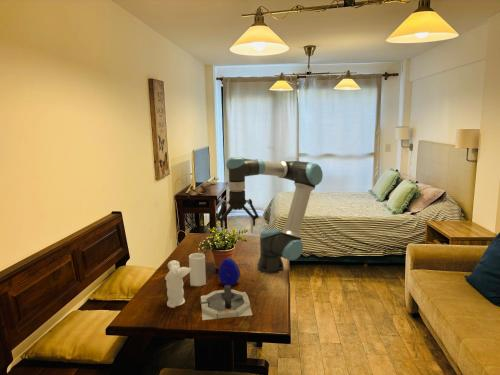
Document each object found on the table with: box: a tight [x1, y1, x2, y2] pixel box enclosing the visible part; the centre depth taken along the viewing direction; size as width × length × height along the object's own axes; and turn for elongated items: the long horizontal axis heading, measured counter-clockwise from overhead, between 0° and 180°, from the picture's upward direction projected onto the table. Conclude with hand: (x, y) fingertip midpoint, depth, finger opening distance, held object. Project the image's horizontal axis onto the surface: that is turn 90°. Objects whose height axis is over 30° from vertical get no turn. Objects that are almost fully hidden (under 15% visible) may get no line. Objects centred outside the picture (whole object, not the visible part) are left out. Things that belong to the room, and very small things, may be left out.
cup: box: [188, 252, 207, 287], centre depth 191 cm, size 8×8×16 cm
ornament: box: [218, 257, 241, 287], centre depth 190 cm, size 11×9×15 cm
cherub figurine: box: [164, 259, 191, 308], centre depth 171 cm, size 12×12×22 cm
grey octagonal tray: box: [199, 288, 253, 321], centre depth 169 cm, size 23×23×3 cm
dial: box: [208, 285, 243, 311], centre depth 168 cm, size 16×16×12 cm
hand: (238, 233), depth 175 cm, fingers open, 13 cm apart
